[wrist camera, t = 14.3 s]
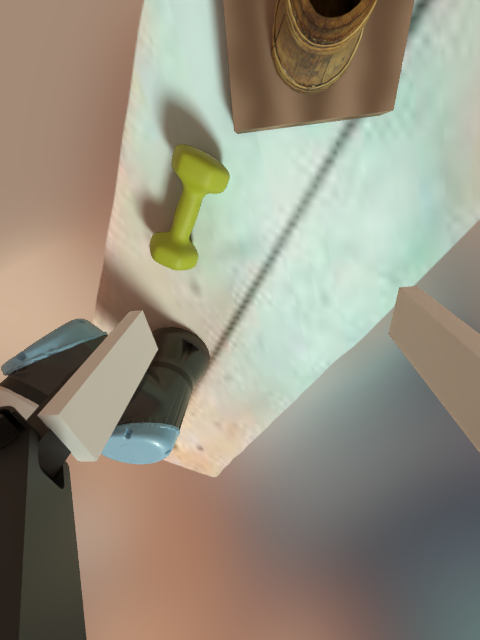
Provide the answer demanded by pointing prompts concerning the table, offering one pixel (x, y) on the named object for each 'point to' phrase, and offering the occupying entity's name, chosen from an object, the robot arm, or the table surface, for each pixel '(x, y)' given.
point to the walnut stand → (330, 105)
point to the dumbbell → (188, 206)
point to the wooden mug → (316, 40)
